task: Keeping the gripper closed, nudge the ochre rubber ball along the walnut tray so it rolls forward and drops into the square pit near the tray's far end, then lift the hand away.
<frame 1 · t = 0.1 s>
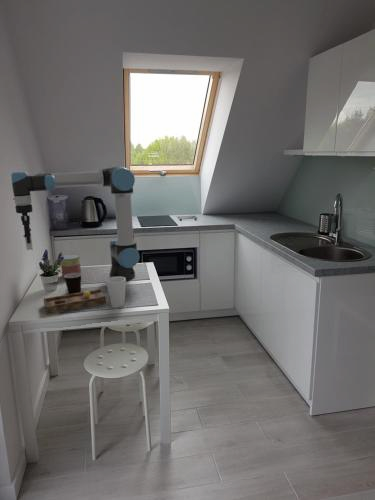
hand: (29, 246, 194), 28 cm above the table, fingers open, 13 cm apart
tray: (75, 304, 192), on the table
canned food: (71, 275, 238), on the table
ball: (86, 294, 193), point 4 cm above the table, touching tray
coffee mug: (76, 292, 209), on the table
foam cup: (117, 305, 191), on the table
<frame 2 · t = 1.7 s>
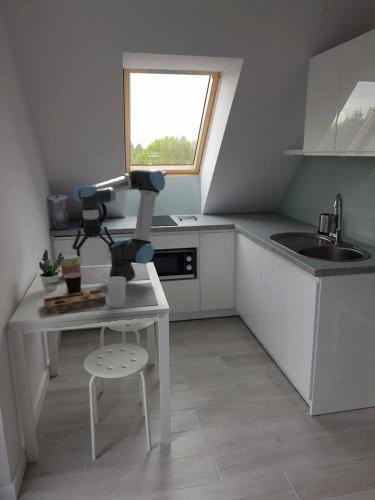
hand: (95, 260, 192), 21 cm above the table, fingers open, 13 cm apart
nothing on the table moved.
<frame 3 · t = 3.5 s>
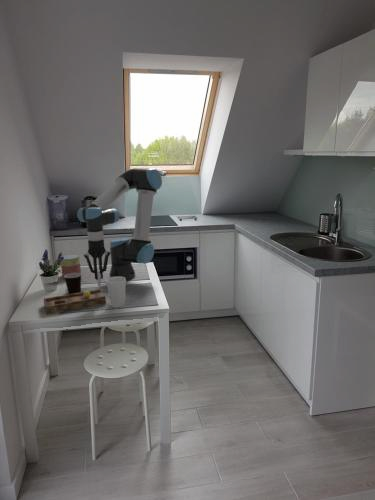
hand: (99, 285, 195), 8 cm above the table, fingers closed
nothing on the table moved.
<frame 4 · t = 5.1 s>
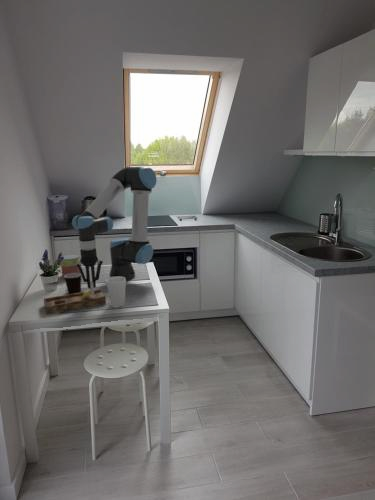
hand: (92, 293, 194), 4 cm above the table, fingers closed
nothing on the table moved.
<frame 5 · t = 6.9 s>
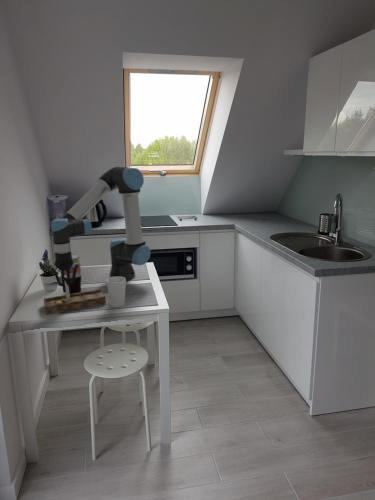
hand: (68, 298, 190), 4 cm above the table, fingers closed
ball: (58, 304, 188), point 2 cm above the table, tilted 112°
everything else where it was.
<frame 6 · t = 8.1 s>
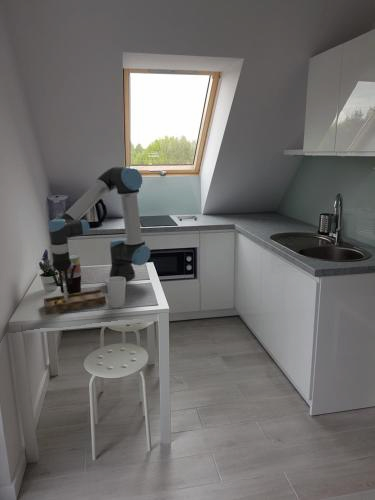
hand: (66, 298, 190), 4 cm above the table, fingers closed
ball: (60, 304, 189), point 2 cm above the table, tilted 90°
everything else where it was.
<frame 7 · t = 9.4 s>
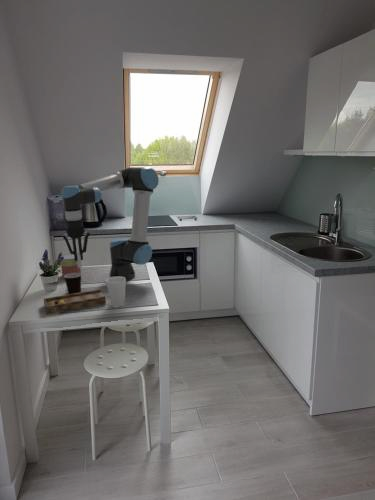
hand: (79, 266, 189), 19 cm above the table, fingers closed
ball: (61, 303, 189), point 2 cm above the table, tilted 67°
everything else where it was.
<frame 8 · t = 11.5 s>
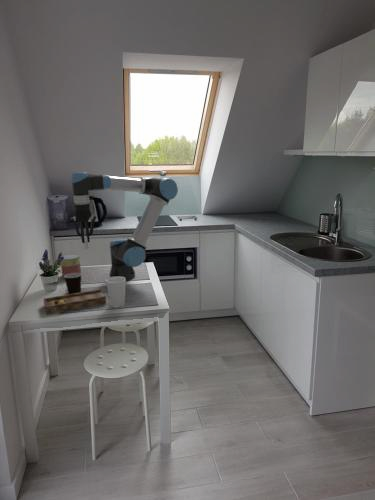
hand: (86, 248, 201), 24 cm above the table, fingers closed
ball: (61, 303, 189), point 2 cm above the table, tilted 72°
everything else where it was.
at the end: ball 0.7 cm from the target spot on the tray, point 1.7 cm above the tray's base; ball touching table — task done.
